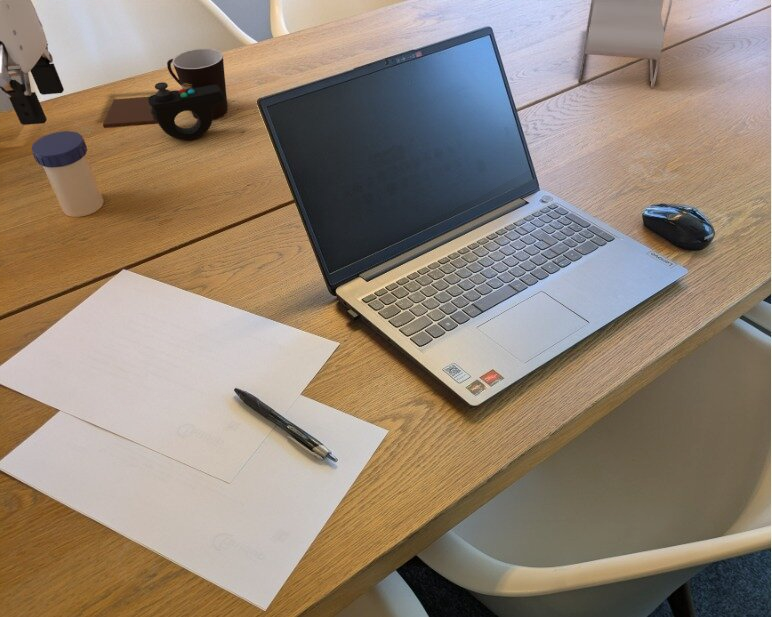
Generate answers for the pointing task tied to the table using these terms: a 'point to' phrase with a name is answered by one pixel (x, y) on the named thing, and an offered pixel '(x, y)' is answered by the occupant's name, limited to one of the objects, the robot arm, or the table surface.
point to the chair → (626, 30)
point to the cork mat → (129, 112)
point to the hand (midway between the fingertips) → (43, 107)
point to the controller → (185, 108)
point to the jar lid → (59, 149)
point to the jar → (75, 188)
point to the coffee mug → (201, 73)
